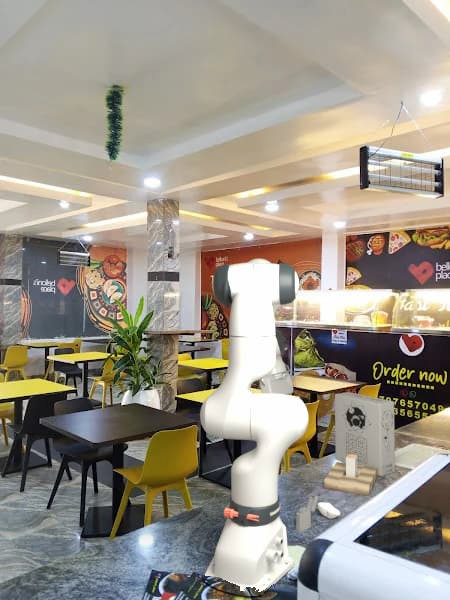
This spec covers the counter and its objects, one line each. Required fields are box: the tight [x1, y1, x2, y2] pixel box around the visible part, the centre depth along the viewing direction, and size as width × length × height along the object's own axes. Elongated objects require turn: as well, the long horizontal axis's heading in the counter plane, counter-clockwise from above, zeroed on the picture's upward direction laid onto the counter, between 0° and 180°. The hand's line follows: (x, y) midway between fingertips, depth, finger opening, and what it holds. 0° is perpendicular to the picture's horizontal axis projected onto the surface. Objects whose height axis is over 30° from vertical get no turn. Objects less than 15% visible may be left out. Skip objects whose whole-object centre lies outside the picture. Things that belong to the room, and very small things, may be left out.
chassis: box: [323, 461, 379, 497], centre depth 157 cm, size 18×14×3 cm
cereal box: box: [334, 391, 396, 477], centre depth 173 cm, size 22×8×25 cm, turn 32°
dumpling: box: [316, 501, 341, 520], centre depth 133 cm, size 7×5×4 cm
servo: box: [346, 453, 358, 477], centre depth 157 cm, size 4×3×9 cm
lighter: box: [295, 493, 319, 532], centre depth 127 cm, size 7×2×8 cm, turn 126°
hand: (283, 410), depth 158 cm, fingers open, 8 cm apart
